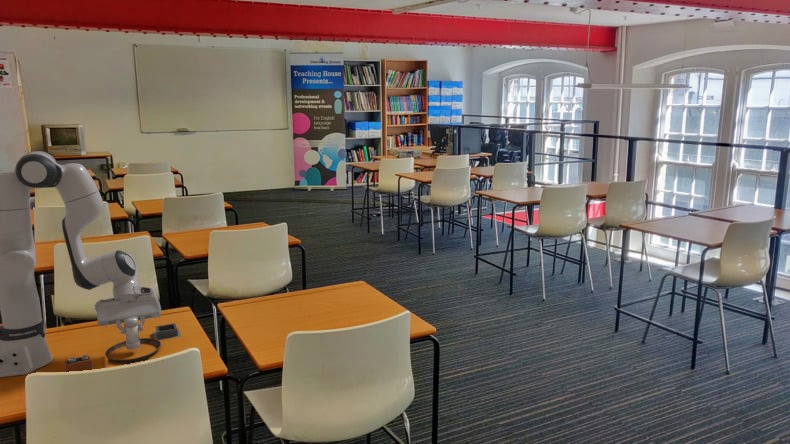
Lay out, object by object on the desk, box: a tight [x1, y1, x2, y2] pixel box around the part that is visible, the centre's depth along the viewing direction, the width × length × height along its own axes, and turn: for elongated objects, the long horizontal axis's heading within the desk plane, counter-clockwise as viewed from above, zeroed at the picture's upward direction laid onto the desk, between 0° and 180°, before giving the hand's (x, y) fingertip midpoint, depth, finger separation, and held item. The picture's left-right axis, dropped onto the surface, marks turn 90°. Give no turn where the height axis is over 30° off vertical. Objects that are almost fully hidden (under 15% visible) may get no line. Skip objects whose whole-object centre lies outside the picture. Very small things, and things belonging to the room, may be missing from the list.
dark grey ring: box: [105, 337, 162, 366], centre depth 204 cm, size 18×18×3 cm
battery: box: [64, 354, 94, 373], centre depth 180 cm, size 4×7×10 cm, turn 127°
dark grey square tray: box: [152, 322, 182, 341], centre depth 220 cm, size 9×9×4 cm
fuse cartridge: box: [123, 317, 141, 350], centre depth 202 cm, size 4×4×10 cm
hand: (131, 331), depth 202 cm, fingers closed on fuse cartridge, 4 cm apart
